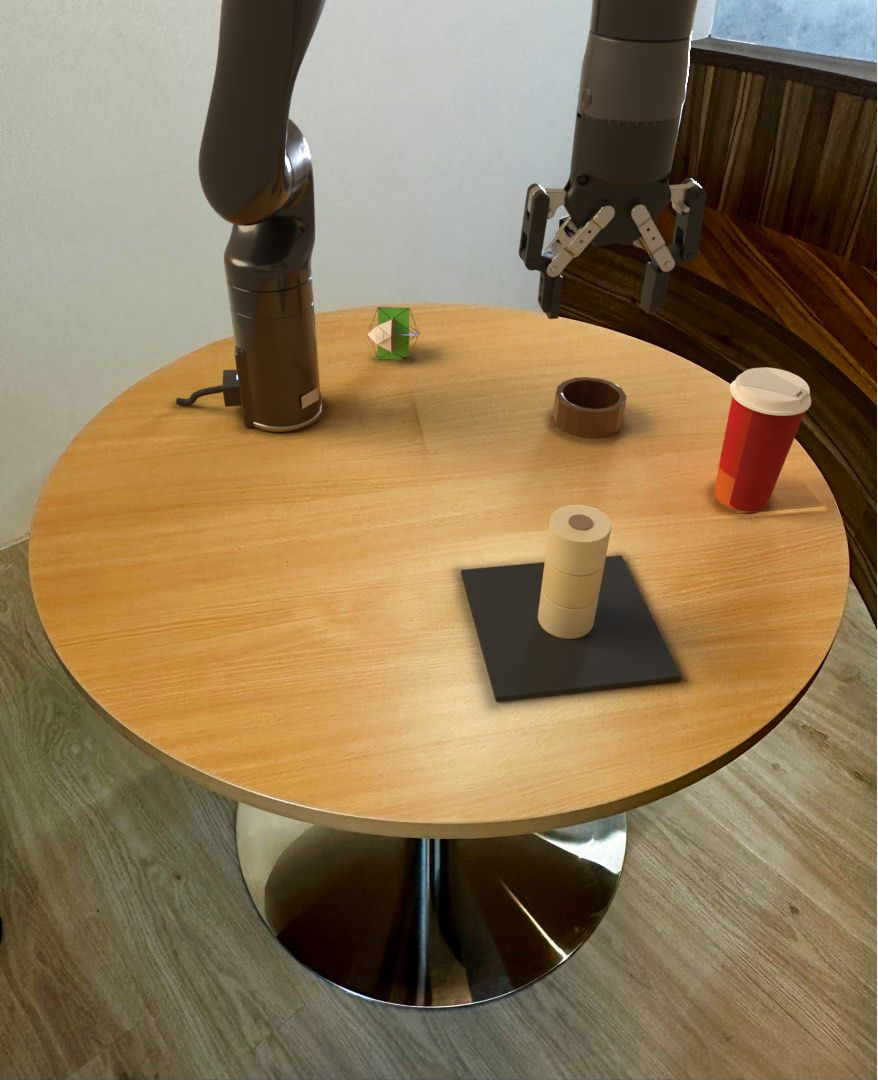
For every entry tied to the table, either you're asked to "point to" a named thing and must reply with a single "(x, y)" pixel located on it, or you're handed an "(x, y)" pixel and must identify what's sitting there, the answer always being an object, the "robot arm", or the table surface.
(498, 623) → the rubber mat
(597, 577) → the tape stack
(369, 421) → the table surface
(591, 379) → the ring
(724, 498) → the paper cup
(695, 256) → the robot arm
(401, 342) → the geometric puzzle
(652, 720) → the table surface
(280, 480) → the table surface
